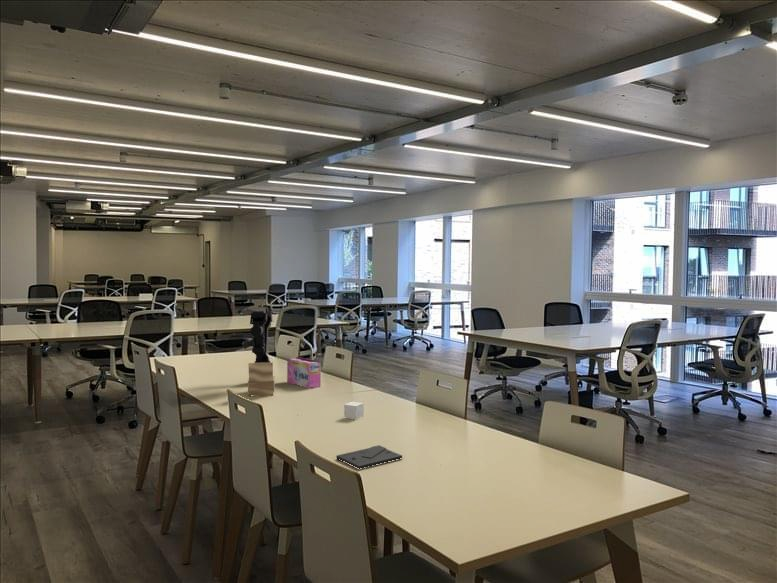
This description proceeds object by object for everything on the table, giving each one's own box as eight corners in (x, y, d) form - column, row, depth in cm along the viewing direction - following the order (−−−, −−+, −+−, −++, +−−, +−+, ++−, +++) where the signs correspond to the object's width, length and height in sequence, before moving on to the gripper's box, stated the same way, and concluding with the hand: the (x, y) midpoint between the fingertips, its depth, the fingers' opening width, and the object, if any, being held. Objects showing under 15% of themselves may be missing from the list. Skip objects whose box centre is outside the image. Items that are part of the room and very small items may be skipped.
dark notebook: (378, 451, 210) (336, 461, 200) (378, 444, 210) (336, 454, 199) (402, 461, 200) (358, 472, 189) (402, 454, 200) (359, 465, 189)
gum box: (285, 382, 332) (285, 357, 331) (297, 380, 337) (297, 356, 336) (308, 388, 313) (308, 363, 313) (321, 386, 318) (321, 361, 318)
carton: (249, 391, 307) (249, 376, 306) (274, 390, 309) (274, 375, 309) (247, 396, 295) (247, 381, 294) (274, 395, 297) (274, 380, 297)
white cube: (356, 420, 250) (356, 406, 250) (344, 418, 253) (344, 404, 253) (363, 416, 256) (363, 403, 255) (351, 415, 259) (351, 401, 258)
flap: (248, 363, 288) (248, 363, 288) (272, 362, 290) (272, 363, 290) (249, 381, 294) (249, 381, 294) (272, 380, 296) (272, 381, 296)
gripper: (244, 332, 320) (244, 361, 321) (241, 336, 302) (242, 367, 302) (265, 332, 322) (265, 361, 323) (264, 336, 304) (264, 366, 304)
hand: (258, 363), depth 313 cm, fingers closed
